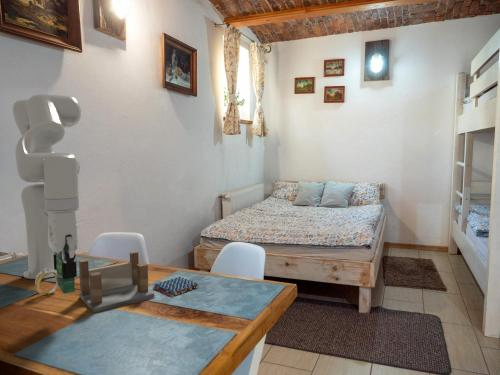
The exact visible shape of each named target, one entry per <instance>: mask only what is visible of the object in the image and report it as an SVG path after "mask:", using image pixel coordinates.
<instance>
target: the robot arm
mask: <svg viewBox="0 0 500 375" xmlns="http://www.w3.org/2000/svg"><path fill="white" fill-rule="evenodd" d="M81 112H82V109H81V106H80V103H79V102H78V101H77V99H76V98H75V97H73V96H70V95H61V94H59V95H58V94H48V93H40V94H39V93H38V94H35V95H32V96H30V97H29V98H28V99H27V98H26V99H19V100H16V101H15V102H14V103H13V104H12V113H13V114H12V115H13V118H14V122H15V124H16V126H17V128H18V130H19V132H20V135H21V137H20V138H19V139H18V141H17V143H16V146H15V151H14V152H15V153H14V154H15V163H16V169H17V173H18V176H19V178H20V179H21V180H22V181H24V182H25V183H35V184H29V185H27V186H25V187H23V189H22V191H21V194H20V197H21V203H22V207H23V211H24V212H23V214H24V218H25V230H26V232H25V233H26V246H27V248H26V249H27V263H28V265H27V266H28V269H27V270H25V271H24V272H23V278H25V279H28V280H36V277H37V275H38V274H39V273H40V272H41V270H44V268H46V267H47V269H49V268H50V269H51V267H52V270H55V271H57V265H56V253H59V252H61V251H62V259H63V263H62V278H63V279H68V278H74V279H75V278H76V277H78V273H77V272H78V271H77V270H78V268H77V256H76V255H77V253H76V251H77V249H78V228H77V227H78V226H77V216H76V212H77V211H79V210H80V197H79V174H80V162H79V158H77V157H76V156H75V155H74V154H73V153H69V152H65V151H64V152H62V151H61V152H58V151H57V152H55V151H53V145H56V144H58V143H59V142H61V141H62V140H63V139H64V136H65V133H66V132H65V128H71V127H73V126H76V125H77V124H78V123H79V122H80V119H81V117H82V116H81V114H82V113H81ZM65 241H66V244H67V247H68V249H67V250H64V249H63V248H64V246H65ZM65 253H68V254H67V255H66V256H65ZM43 274H44V273H43ZM41 275H42V274H41ZM41 275H40V276H41ZM53 277H55V275H54V274H52V273H47V275H45V276H44V277H43V278H42V279H41V280H43V279H48V278H49V279H50V278H53Z"/></svg>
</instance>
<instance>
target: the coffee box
mask: <svg viewBox="0 0 500 375" xmlns="http://www.w3.org/2000/svg"><path fill="white" fill-rule="evenodd" d="M63 249H64V250H67V249H68V247H67V244H66V241H65V246H64V248H63ZM67 254H68V253H65V256H66V255H67ZM62 263H63V259H62V251H61V252H59V253H56V265H57V282H58V287H59V289H60V290H61V292H62V293H63V294H64V295H66V294H71V293H75V291H76V283H75V282H76V280H75V277H74V278H68V279H63V278H62Z"/></svg>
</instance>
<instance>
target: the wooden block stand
mask: <svg viewBox="0 0 500 375" xmlns="http://www.w3.org/2000/svg"><path fill="white" fill-rule="evenodd" d="M139 262H140V261H139V251H136V250H134V251H129V261H128V262H121V263H116V264H112V265H111V264H110V265H106V266H101V267H96V268H90V269H89V260H88V259H82V260H78V267H79V268H78V271H79V290H80V292H79V299H81V300H82V301H83V302H84V303H85V305H86V306H88V308H89V309H90V311H92V312H93V313H95V314H96V313H99V312H104V311H108V310H111V309H116V308H120V307H123V306H126V305H131V304H134V303H138V302H142V301H147V300H150V299H153V298H154V299H155V293H154V292H153V291H151V290H150V289H149V270H148V269H149V267H148V266H149V265H148V264H147V263H139Z"/></svg>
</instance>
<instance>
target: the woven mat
mask: <svg viewBox="0 0 500 375" xmlns="http://www.w3.org/2000/svg"><path fill="white" fill-rule="evenodd" d="M194 287H195V288H194ZM152 288H153V289H154V290H157V291H158V290H159V291H158V292H160V291H161V292H160V293H164V294H165V295H168V296H170V297H173V298H174V297H175V296H177V295H180V294H183V293H187V292H188V291H187V290H189V291H192V290H193V289H192V288H194V289H198V288H199V285H198V283H197V282H196V281H195V282H194V281H193V280H191V279H187V278H185V277H182V276H179V277H174V278H170V279H169V280H168V279H167V280H163V281H161V282H158V283H154V286H153V287H152Z"/></svg>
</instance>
